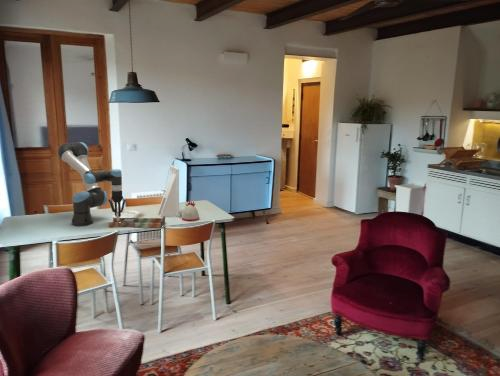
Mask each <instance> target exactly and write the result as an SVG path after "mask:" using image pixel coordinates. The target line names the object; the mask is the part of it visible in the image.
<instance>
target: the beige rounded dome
mask: <svg viewBox="0 0 500 376" xmlns="http://www.w3.org/2000/svg"><path fill="white" fill-rule="evenodd" d="M198 211H199V210H198V209H197V208H196V203H195V202H194V201H190V200H189V201H187V203H185V207H184V209H183V210H182V215H181V220H182V221H184V222H196V221H199V219H200V214H199V212H198Z"/></svg>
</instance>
